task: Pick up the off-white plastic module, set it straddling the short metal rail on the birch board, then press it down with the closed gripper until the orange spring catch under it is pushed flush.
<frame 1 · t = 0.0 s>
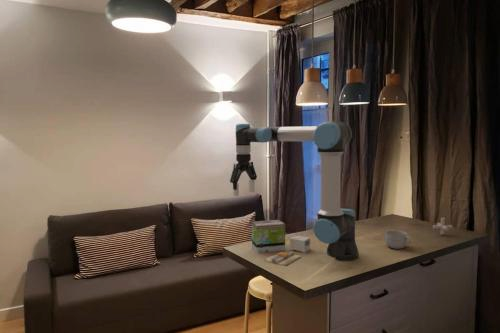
hand: (244, 193, 204), 28 cm above the counter, tool pointing down, fingers open, 13 cm apart
rail board: (283, 261, 183), on the counter
tea box: (268, 250, 198), on the counter
pipe connector: (442, 235, 219), on the counter
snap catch: (282, 254, 182), point 3 cm above the counter, slide at 1.0 cm
module: (300, 251, 196), on the counter
teacup: (398, 248, 198), on the counter
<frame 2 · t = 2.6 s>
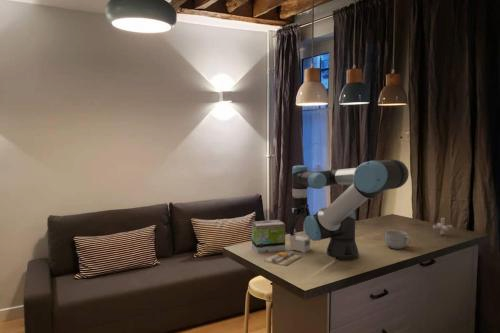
hand: (299, 238, 195), 7 cm above the counter, tool pointing down, fingers open, 13 cm apart
nothing on the counter moved.
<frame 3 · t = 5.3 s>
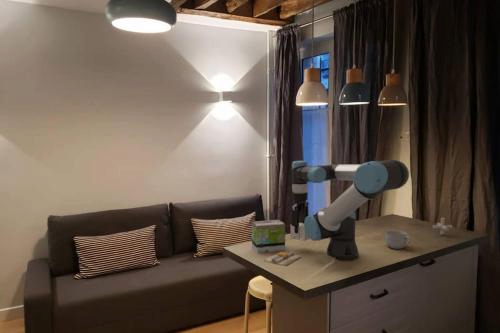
hand: (300, 237, 195), 7 cm above the counter, tool pointing down, fingers closed on module, 6 cm apart
module: (300, 238, 195), point 7 cm above the counter, touching gripper
everything else where it was.
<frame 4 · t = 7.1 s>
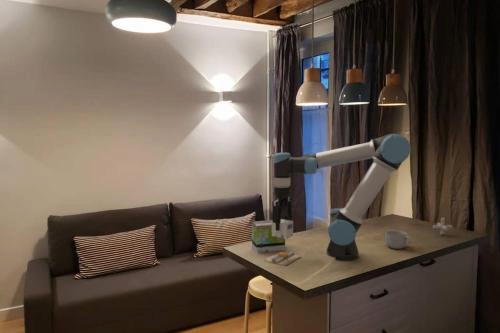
hand: (282, 235, 181), 12 cm above the counter, tool pointing down, fingers closed on module, 6 cm apart
module: (282, 235, 181), point 12 cm above the counter, touching gripper
everything else where it was.
when the fingers open (3 cm above the counter, at t = 9.1 s): module stays where it is, resting on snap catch.
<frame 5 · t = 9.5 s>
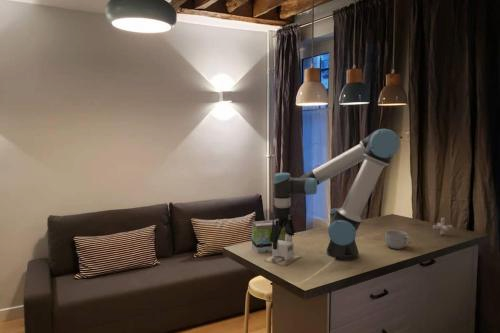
hand: (282, 252, 182), 4 cm above the counter, tool pointing down, fingers open, 11 cm apart
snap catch: (282, 255, 182), point 3 cm above the counter, slide at 0.5 cm, touching module
module: (282, 257, 182), point 2 cm above the counter, touching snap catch
everything else where it was.
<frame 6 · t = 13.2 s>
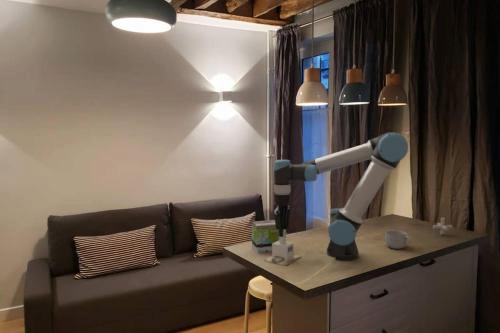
hand: (282, 243, 182), 9 cm above the counter, tool pointing down, fingers closed
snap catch: (282, 256, 182), point 2 cm above the counter, slide at 0.2 cm
module: (282, 257, 182), point 1 cm above the counter, touching gripper, rail board
everything else where it was.
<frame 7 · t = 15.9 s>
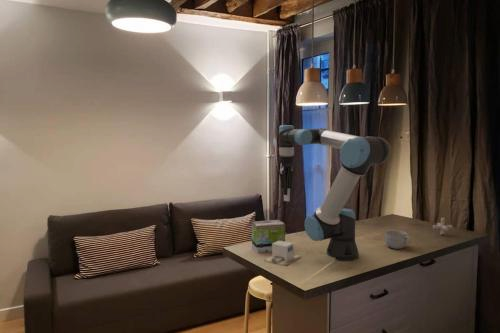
hand: (286, 200, 201), 25 cm above the counter, tool pointing down, fingers closed
module: (282, 257, 182), point 1 cm above the counter, touching rail board
everything else where it was.
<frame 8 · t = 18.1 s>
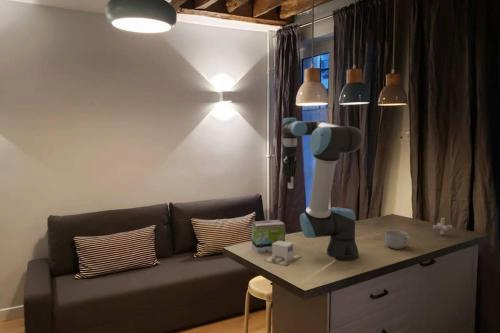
hand: (290, 188, 217), 28 cm above the counter, tool pointing down, fingers closed
nothing on the counter moved.
at the end: module 0.1 cm off-centre on the rail board, point 1.5 cm above the rail board's base; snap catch slide at 0.2 cm; module tilted 0° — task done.
